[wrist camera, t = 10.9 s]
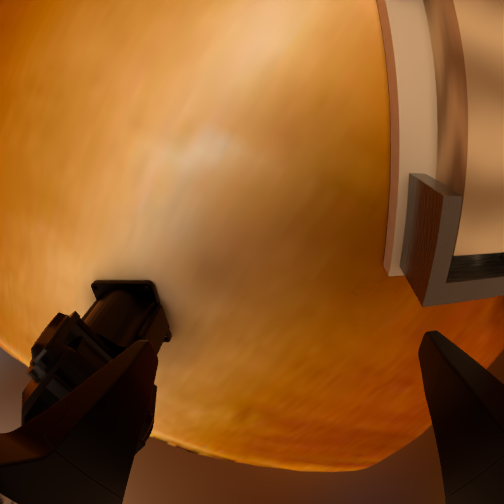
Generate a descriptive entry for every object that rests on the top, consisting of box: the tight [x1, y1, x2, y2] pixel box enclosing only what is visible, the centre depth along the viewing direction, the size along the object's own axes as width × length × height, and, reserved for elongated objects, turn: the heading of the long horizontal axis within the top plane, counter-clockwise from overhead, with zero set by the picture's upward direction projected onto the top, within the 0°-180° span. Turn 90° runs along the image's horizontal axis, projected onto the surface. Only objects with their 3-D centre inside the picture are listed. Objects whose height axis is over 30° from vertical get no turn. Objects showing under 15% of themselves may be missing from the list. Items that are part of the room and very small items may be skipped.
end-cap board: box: [377, 0, 438, 276], centre depth 13 cm, size 26×10×2 cm, turn 6°
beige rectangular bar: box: [423, 0, 504, 256], centre depth 10 cm, size 20×4×4 cm, turn 6°
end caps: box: [399, 173, 504, 307], centre depth 10 cm, size 25×9×4 cm, turn 6°
